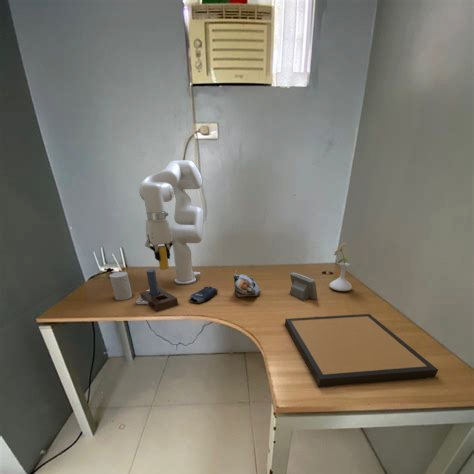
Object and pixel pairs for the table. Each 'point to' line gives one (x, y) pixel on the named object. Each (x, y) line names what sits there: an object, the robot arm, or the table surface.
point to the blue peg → (152, 282)
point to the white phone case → (141, 301)
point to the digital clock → (303, 286)
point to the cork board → (355, 351)
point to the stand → (159, 299)
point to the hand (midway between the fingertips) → (163, 258)
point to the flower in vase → (341, 282)
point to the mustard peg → (163, 258)
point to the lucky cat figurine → (245, 286)
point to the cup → (120, 285)
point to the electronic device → (203, 294)
